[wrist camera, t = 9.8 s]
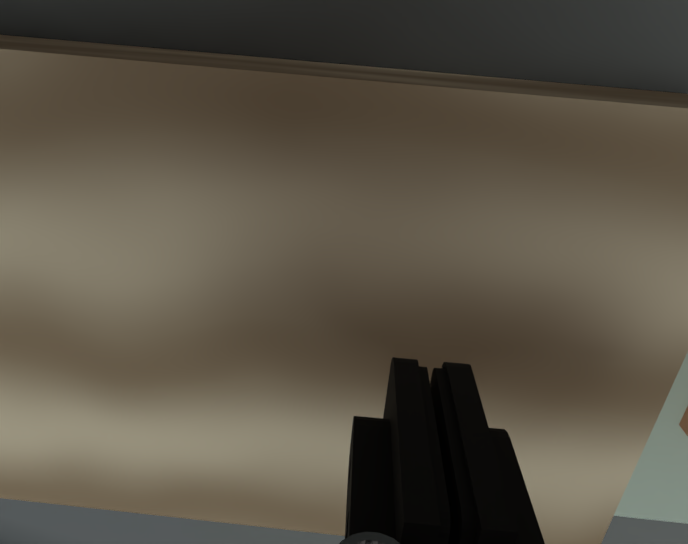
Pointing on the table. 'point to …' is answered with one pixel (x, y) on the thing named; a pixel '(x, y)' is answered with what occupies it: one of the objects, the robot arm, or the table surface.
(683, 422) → the thick terracotta block
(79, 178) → the board
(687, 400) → the mat
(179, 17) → the table surface
